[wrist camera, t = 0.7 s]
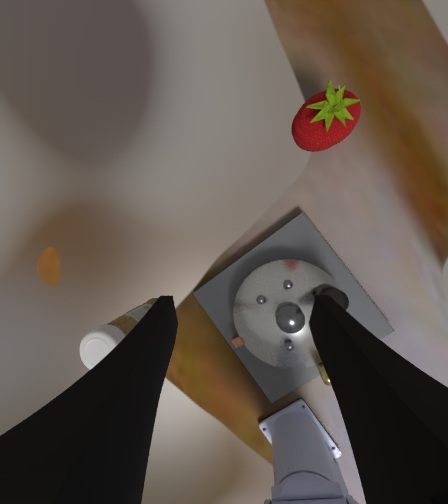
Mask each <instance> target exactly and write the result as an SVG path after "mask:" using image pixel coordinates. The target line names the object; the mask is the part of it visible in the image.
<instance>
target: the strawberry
mask: <svg viewBox="0 0 448 504" xmlns="http://www.w3.org/2000/svg"><path fill="white" fill-rule="evenodd" d="M345 86H346V85H344V86H343V87H342V88H341V89H340V86H339V85H338V88H339V89H334V87H333V85H332V82H331V80H330V79H329V81H328V86H327V90H326V91H323V92H320V93H318V94H316V95H314V96H313V97H311V98H310V99H309V100H307V101H306V102H305V103H304V104H303V106H302V107H301V108H300V110H299V111H298V113H297V114H296V116H295V118H294V120H293V123H292V135H293V138H294V141H295V142H296V144H297V145H298V146H299V147H300V148H301V149H303V150H306V151H312V152H314V151H322V150H325V149H328V148H330V147H332V146H333V145H335V144H337V143H339V142H341V141H342V140H343V139H345V138H346V137H347V136H348V135H349V134H350V133H351V132H352V130H353V129H354V127H355V125H356V123H357V121H358V119H359V116H360V112H361V105H360V102H359V101H361V100H358V98H357V97H356V96H355V95H354V94H353V93H351V92H350V91H347V90H345Z"/></svg>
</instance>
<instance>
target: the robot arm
mask: <svg viewBox="0 0 448 504" xmlns="http://www.w3.org/2000/svg"><path fill="white" fill-rule="evenodd" d="M309 326H310V330H311V334H312V337H313V341H314V344H315V346H316V349H317V351H318V354H319V356H320V359H321V361H322V364H323V366H324V368H325V371H326V373H327V376H328V378H329V380H330V383H331V385H332V388H333V390H334V393H335V395H336V398H337V401H338V404H339V407H340V410H341V414H342V417H343V420H344V423H345V426H346V430H347V433H348V437H349V440H350V443H351V447H352V450H353V454H354V458H355V461H356V465H357V469H358V472H359V476H360V480H361V484H362V488H363V492H364V496H365V500H366V504H448V387H446V386H444V385H443V384H441V383H440V382H438V381H437V380H435V379H434V378H432V377H430V376H429V375H427V374H426V373H424V372H423V371H421V370H420V369H419V368H417V367H416V366H414V365H413V364H411V363H410V362H409V361H407V360H406V359H404V358H403V357H402V356H400V355H399V354H398V353H396V352H395V351H394V350H392V349H391V348H390V347H388V346H387V345H386V344H385V343H383V342H382V341H381V340H380V339H378V338H377V337H376V336H375V335H373V334H372V333H371V332H370V331H369V330H367V329H366V328H365V327H364V326H363V325H362V324H361V323H359V322H358V321H357V320H356V319H355V318H354V317H353V316H351V315H350V314H349V313H348V312H347V311H346V310H345V309H344V308H343V307H342V306H340V305H339V304H338V303H337V302H336V301H335V300H334V299H333V298H332V297H331V296H329V295H316V296H315V300H314V304H313V308H312V312H311V316H310V320H309ZM177 327H178V321H177V316H176V311H175V306H174V301H173V296H160V297H159V298H158V299H157V300H156V302H155V303H154V304H153V305H152V307H151V308H150V309H149V310H148V311H147V313H146V314H145V315H144V316H143V317H142V319H141V320H140V321H139V322H138V323H137V324H136V325H135V327H134V328H133V329H132V330H131V331H130V332H129V333H128V334H127V335H126V336H125V337H124V338H123V339H122V340H121V342H120V343H119V344H118V345H117V346H116V347H115V348H114V349H113V350H112V351H111V352H110V353H109V354H107V355H106V356H105V357H104V358H103V359H102V360H101V361H100V362H99V363H98V364H97V365H95V366H94V367H93V368H92V369H91V370H90V371H88V372H87V373H86V374H85V375H84V376H83V377H81V378H80V379H79V380H78V381H76V382H75V383H74V384H73V385H72V386H70V387H69V388H68V389H67V390H65V391H64V392H63V393H61V394H60V395H58V396H57V397H56V398H54V399H53V400H52V401H50V402H49V403H48V404H46V405H45V406H44V407H42V408H41V409H39V410H38V411H37V412H35V413H34V414H32V415H31V416H30V417H28V418H27V419H25V420H24V421H22V422H21V423H19V424H18V425H16V426H15V427H13V428H12V429H10V430H9V431H7V432H6V433H4V434H3V435H1V436H0V504H141V501H142V494H143V488H144V481H145V475H146V468H147V463H148V456H149V450H150V445H151V439H152V433H153V428H154V423H155V417H156V412H157V407H158V402H159V398H160V393H161V390H162V386H163V382H164V379H165V376H166V372H167V369H168V365H169V362H170V358H171V355H172V351H173V348H174V344H175V339H176V333H177ZM303 405H304V407H302V406H303ZM259 428H260V429H261V431H262V432H263V433H264V435H265V436H266V438H267V439H268V440H269V442H270V443H271V445H272V453H273V468H274V483H275V486H273V487H271V490H272V501H271V500H270V499H268V500H265V502H264V504H359V503H358V502H356V501H355V500H354V499H353V497H352V496H351V495H349V493H348V490H347V487H346V485H345V482H344V479H343V476H342V474H341V471H340V468H339V465H338V462H337V460H336V458H338V457H340V456H341V452H340V450H339V448H338V447H337V446H336V444H335V443H334V442H333V440H332V439H331V437H330V436H329V435H328V433H327V432H326V431H325V429H324V428H323V426H322V425H321V424H320V422H319V421H318V420H317V418H316V417H315V415H314V414H313V413H312V411H311V410H310V409H309V407H308V406H307V405H306V403H305V402H304V401H303V400H302V399H300V400H298V401H296V402H294V403H292V404H291V405H289V406H287V407H286V408H284V409H282V410H280V411H279V412H277V413H275V414H273V415H272V416H270V417H268V418H267V419H265V420H263V421H261V422H260V423H259ZM263 428H266V429H263ZM332 446H334V447H332Z"/></svg>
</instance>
